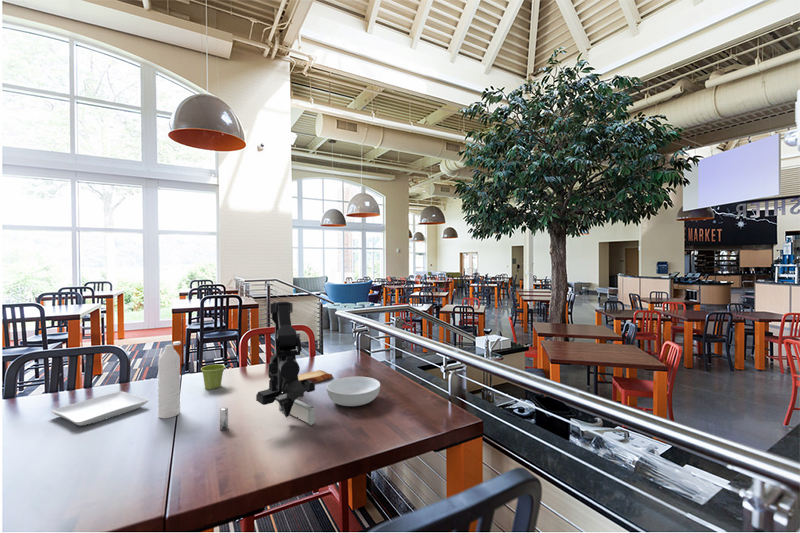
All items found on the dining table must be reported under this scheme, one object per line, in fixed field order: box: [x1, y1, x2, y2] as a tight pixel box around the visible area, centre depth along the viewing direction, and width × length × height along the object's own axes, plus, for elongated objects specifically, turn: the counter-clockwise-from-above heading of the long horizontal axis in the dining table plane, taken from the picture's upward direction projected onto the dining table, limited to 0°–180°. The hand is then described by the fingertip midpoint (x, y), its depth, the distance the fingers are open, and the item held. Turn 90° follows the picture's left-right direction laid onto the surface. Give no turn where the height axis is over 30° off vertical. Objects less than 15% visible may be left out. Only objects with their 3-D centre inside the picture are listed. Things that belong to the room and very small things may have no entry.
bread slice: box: [298, 369, 333, 384], centre depth 160 cm, size 18×18×4 cm
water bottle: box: [157, 340, 182, 419], centre depth 125 cm, size 9×6×25 cm
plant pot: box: [200, 363, 226, 390], centre depth 151 cm, size 9×9×9 cm
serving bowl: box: [326, 376, 381, 407], centre depth 136 cm, size 21×21×7 cm
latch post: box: [219, 406, 229, 431], centre depth 113 cm, size 2×2×6 cm
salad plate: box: [51, 390, 149, 426], centre depth 125 cm, size 21×21×3 cm
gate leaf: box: [289, 398, 316, 426], centre depth 121 cm, size 17×2×5 cm, turn 50°
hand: (286, 416), depth 117 cm, fingers closed
